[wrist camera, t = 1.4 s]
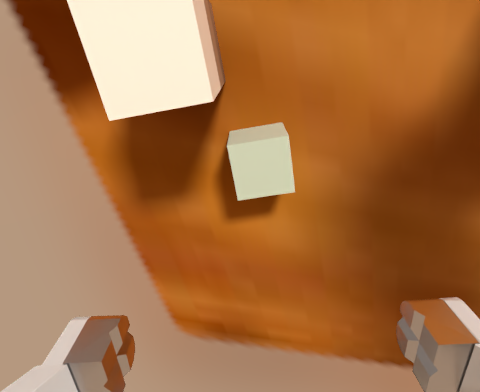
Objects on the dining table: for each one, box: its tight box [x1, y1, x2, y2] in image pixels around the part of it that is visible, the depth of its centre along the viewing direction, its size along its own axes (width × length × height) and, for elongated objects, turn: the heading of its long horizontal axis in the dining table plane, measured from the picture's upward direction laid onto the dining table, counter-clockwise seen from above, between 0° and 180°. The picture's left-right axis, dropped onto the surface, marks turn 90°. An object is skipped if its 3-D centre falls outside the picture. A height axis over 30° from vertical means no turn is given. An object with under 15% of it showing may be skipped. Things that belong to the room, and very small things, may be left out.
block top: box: [67, 0, 221, 121], centre depth 19 cm, size 6×6×6 cm
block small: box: [227, 122, 295, 201], centre depth 29 cm, size 5×5×5 cm
